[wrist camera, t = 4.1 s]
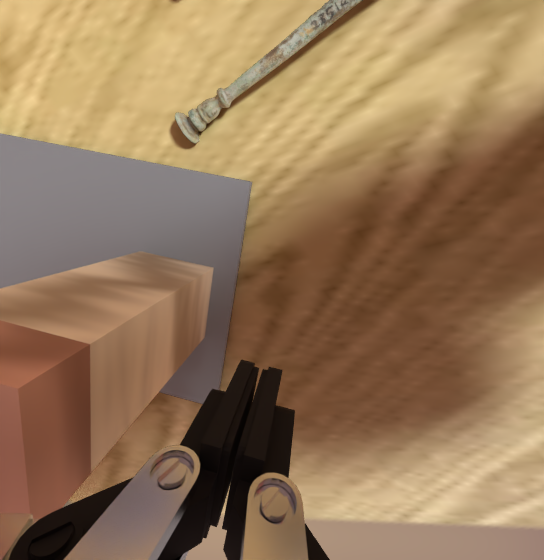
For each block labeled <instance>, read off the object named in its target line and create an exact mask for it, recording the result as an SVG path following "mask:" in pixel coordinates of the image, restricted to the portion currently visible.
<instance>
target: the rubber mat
mask: <svg viewBox="0 0 544 560" xmlns="http://www.w3.org/2000/svg"><path fill="white" fill-rule="evenodd" d="M251 186H252V182H250V181H245V180H239V179H234V178H229V177H224V176H219V175H213V174H208V173H203V172H198V171H193V170H187V169H182V168H177V167H172V166H167V165H161V164H156V163H151V162H146V161H141V160H135V159H130V158H125V157H120V156H115V155H109V154H104V153H99V152H94V151H89V150H83V149H78V148H73V147H68V146H63V145H57V144H52V143H47V142H42V141H37V140H31V139H26V138H21V137H16V136H11V135H5V134H0V289H1V288H4V287H8V286H12V285H16V284H19V283H23V282H27V281H31V280H34V279H38V278H42V277H46V276H50V275H53V274H57V273H61V272H65V271H68V270H72V269H76V268H80V267H83V266H87V265H91V264H95V263H98V262H102V261H106V260H110V259H113V258H117V257H121V256H125V255H128V254H132V253H136V252H140V251H142V252H146V253H151V254H155V255H159V256H164V257H168V258H173V259H177V260H182V261H186V262H190V263H195V264H199V265H204V266H208V267H213V268H214V269H213V277H212V285H211V293H210V300H209V308H208V316H207V323H206V331H205V337H204V339H203V340H202V341H201V342H200V343H199V345H198V346H197V347H196V348H195V349H194V351H193V352H192V353H191V354H190V355H189V357H188V358H187V359H186V360H185V361H184V363H183V364H182V365H181V366H180V367H179V369H178V370H177V371H176V372H175V373H174V374H173V376H172V377H171V378H170V379H169V380H168V382H167V383H166V384H165V385H164V386H163V388H162V389H161V390H160V391H159V392H161V393H164V394H168V395H172V396H175V397H179V398H182V399H186V400H190V401H193V402H197V403H201V404H203V403H204V401H205V400H206V398H207V396H208V394H209V392H210V391H211V390H212V389H216V390H220V384H221V377H222V371H223V365H224V358H225V352H226V346H227V339H228V333H229V326H230V320H231V314H232V307H233V301H234V294H235V288H236V282H237V275H238V269H239V263H240V256H241V250H242V243H243V237H244V231H245V224H246V218H247V212H248V205H249V199H250V192H251Z"/></svg>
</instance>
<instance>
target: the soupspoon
mask: <svg viewBox="0 0 544 560" xmlns="http://www.w3.org/2000/svg"><path fill="white" fill-rule="evenodd" d="M361 1H363V0H329V1H328V2H327V3H325V4H324V5H323V6H322V8H321V9H319V10H318V11H317V12H315V13H314V14H313V15H311V16H310V17H309V18H308V19H307V20H306V21H305V22H304V23H303V24H302V25H300V26H299V27H298V28H297V29H296V30H295V31H293V32H292V33H291V34H290V35H289V36H288V37H287V38H285V39H284V40H283V41H282V42H281V43H280V44H279V45H277V46H276V47H275V48H274V49H273V50H271V51H270V52H269V53H268V54H266V55H265V56H264V57H263V58H262V59H260V60H259V61H258V62H257V63H256V64H254V65H253V66H252V67H251V68H250V69H248V70H247V71H246V72H245V73H243V74H242V75H241V76H240V77H239V78H238V79H237V80H235V81H234V82H233V83H232V84H231V85H230V86H229V87H227V88H226V89H222V88H219V89H218V90H217V95H216V96H215V97H213V98H210V99H207V100H205V101H204V102H203V103H201V104H200V105H199V106H198V107H197V109H192V110H190V111H189V112H188V114H189V117H187V116H186V115H185V114H183V113H176V114H175V120H176V121H177V124H178V126H179V128H180V129H181V130H182V133H183V134H184V135H185V136H186V137H187V138H188V139H189V140H190V141H191V142H192V143H195V144H196V143H197V142H199V133H198V131H203V130H204V129H205V128H206V123H210V122H211V121H212V120H213V119H215V118H216V117H217V116H218V115H219V112H220V110H221V109H222V108H229V107H230V104H231V102H232V101H233V100H234V99H235V98H237V97H238V96H239V95H241V94H242V93H243V92H245V91H246V90H247V89H249V88H250V87H251V86H253V85H254V84H255V83H257V82H258V81H259V80H261V79H262V78H263V77H265V76H266V75H267V74H269V73H270V72H271V71H273V70H274V69H275V68H277V67H278V66H279V65H281V64H282V63H283V62H285V61H286V60H287V59H289V58H290V57H291V56H292V55H294V54H295V53H296V52H297V51H299V50H300V49H301V48H303V47H304V46H305V45H306V44H308V43H309V42H310V41H312V40H313V39H314V38H315V37H317V36H318V35H319V34H320V33H321V32H323V31H324V30H325V29H327V28H328V27H329V26H330V25H332V24H333V23H334V22H335V21H336V20H338V19H339V18H340V17H342V16H343V15H344V14H345V13H347V12H348V11H349V10H351V9H352V8H353V7H355V6H356V5H357V4H358V3H360V2H361Z"/></svg>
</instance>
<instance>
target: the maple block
mask: <svg viewBox="0 0 544 560" xmlns="http://www.w3.org/2000/svg"><path fill="white" fill-rule="evenodd" d="M213 269H214V268H213V267H208V266H204V265H199V264H195V263H190V262H186V261H182V260H177V259H173V258H168V257H164V256H159V255H155V254H151V253H146V252H142V251H140V252H136V253H132V254H128V255H125V256H121V257H117V258H113V259H110V260H106V261H102V262H98V263H95V264H91V265H87V266H83V267H80V268H76V269H72V270H68V271H65V272H61V273H57V274H53V275H50V276H46V277H42V278H38V279H34V280H31V281H27V282H23V283H19V284H16V285H12V286H8V287H4V288H1V289H0V513H23V514H32V515H33V519H41V518H42V517H44V516H46V515H48V514H50V513H52V512H54V511H56V510H58V509H61V508H62V507H63V506H64V505H65V503H66V502H67V501H68V500H69V499H70V497H71V496H72V495H73V494H74V493H75V491H76V490H77V489H78V488H79V487H80V486H81V484H82V483H83V482H84V481H85V480H86V478H87V477H88V476H89V475H90V474H91V472H92V471H93V470H94V469H95V468H96V466H97V465H98V464H99V463H100V462H101V460H102V459H103V458H104V457H105V456H106V454H107V453H108V452H109V451H110V450H111V448H112V447H113V446H114V445H115V444H116V443H117V441H118V440H119V439H120V438H121V437H122V435H123V434H124V433H125V432H126V431H127V429H128V428H129V427H130V426H131V425H132V423H133V422H134V421H135V420H136V419H137V417H138V416H139V415H140V414H141V413H142V411H143V410H144V409H145V408H146V407H147V406H148V404H149V403H150V402H151V401H152V400H153V398H154V397H155V396H156V395H157V394H158V392H159V391H160V390H161V389H162V388H163V386H164V385H165V384H166V383H167V382H168V380H169V379H170V378H171V377H172V376H173V374H174V373H175V372H176V371H177V370H178V369H179V367H180V366H181V365H182V364H183V363H184V361H185V360H186V359H187V358H188V357H189V355H190V354H191V353H192V352H193V351H194V349H195V348H196V347H197V346H198V345H199V343H200V342H201V341H202V340H203V339H204V337H205V331H206V323H207V316H208V308H209V300H210V293H211V285H212V277H213Z"/></svg>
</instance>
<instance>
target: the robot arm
mask: <svg viewBox="0 0 544 560" xmlns="http://www.w3.org/2000/svg"><path fill="white" fill-rule="evenodd" d="M254 365H255V363H252V362H248V361H244V360H241V361H240V363H239V365H238V367H237V369H236V372H235V374H234V376H233V378H232V380H231V382H230V384H229V386H228V388H227V390H226V392H224V391H220V390H216V389H212V390H211V391H210V392H209V394H208V396H207V398H206V400H205V401H204V403H203V405H202V407H201V408H200V410H199V412H198V414H197V416H196V417H195V419H194V421H193V423H192V424H191V426H190V428H189V430H188V432H187V433H186V435H185V437H184V439H183V440H182V442H181V444H180V445H173V446H169V447H165V448H163V449H161V450H159V451H158V452H156V453H155V454H154V455H153V456H152V457H151V458H150V459H149V460H148V461H147V462H146V464H145V465H144V466H143V467H142V468H141V469H140V471H139V472H138V473H137V474H136V475H135V476H134V477H133V478H131V479H129V480H126V481H124V482H122V483H119V484H117V485H115V486H112V487H110V488H108V489H105V490H103V491H100V492H98V493H96V494H93V495H91V496H89V497H86V498H84V499H82V500H79V501H77V502H75V503H72V504H70V505H68V506H66V507H64V508H61V509H58V510H56V511H54V512H52V513H50V514H48V515H46V516H44V517H42V518H41V519H33V515H32V514H23V513H0V560H185V558H186V556H187V553H188V551H189V550H191V549H192V548H194V547H195V546H197V545H198V544H200V543H201V542H202V539H203V538H206V537H207V534H208V531H209V528H210V525H212V526H215V527H217V525H218V522H219V519H220V515H221V512H222V509H223V505H224V502H225V499H226V496H227V492H228V489H229V486H230V489H229V495H228V500H227V505H226V511H225V516H224V521H223V526H222V529H225V530H227V534H226V539H225V544H224V549H223V550H224V552H225V554H226V557H227V559H228V560H330V559H329V558H328V557H327V555H326V554H325V552H324V551H323V549H322V548H321V546H320V545H319V543H318V542H317V540H316V539H315V537H314V536H313V535H312V533H311V531H310V530H309V528H308V527H307V525H306V524H305V521H304V511H303V502H302V498H301V494H300V492H299V490H298V488H297V486H296V485H295V484H294V483H293V482H292V481H291V480H290V479H289V478H288V477H289V467H290V456H291V446H292V436H293V426H294V415H295V410H291V409H288V408H284V407H280V406H276V400H277V395H278V390H279V385H280V380H281V375H282V370H280V369H276V368H272V367H269V369H268V370H264V369H263V371H262V374H261V377H260V380H259V383H258V386H257V389H256V393H255V396H254V391H255V386H256V381H257V376H258V371H259V368H257V367H254ZM253 396H254V399H253ZM252 401H253V402H252ZM230 483H231V484H230Z"/></svg>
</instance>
